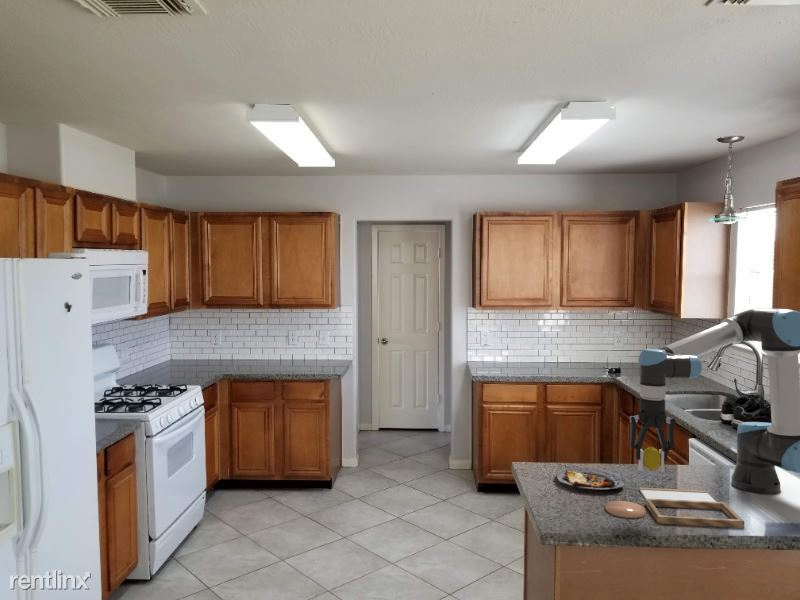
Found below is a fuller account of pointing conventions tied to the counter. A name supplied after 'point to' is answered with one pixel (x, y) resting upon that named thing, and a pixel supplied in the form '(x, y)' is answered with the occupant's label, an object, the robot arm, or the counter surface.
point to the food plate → (577, 479)
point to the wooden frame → (732, 522)
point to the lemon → (651, 458)
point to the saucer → (625, 509)
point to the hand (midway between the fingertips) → (650, 470)
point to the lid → (676, 494)
